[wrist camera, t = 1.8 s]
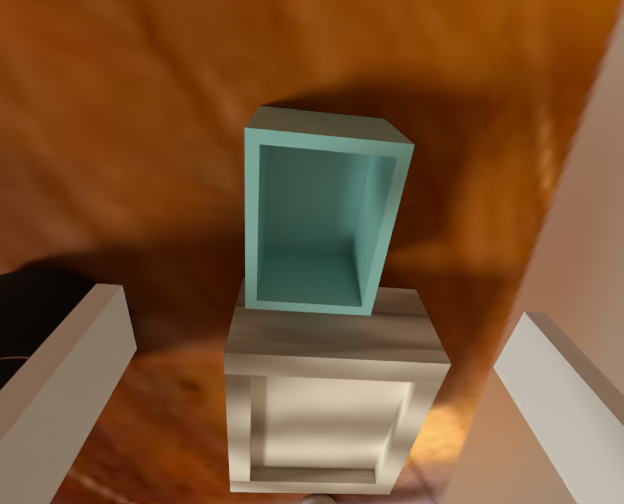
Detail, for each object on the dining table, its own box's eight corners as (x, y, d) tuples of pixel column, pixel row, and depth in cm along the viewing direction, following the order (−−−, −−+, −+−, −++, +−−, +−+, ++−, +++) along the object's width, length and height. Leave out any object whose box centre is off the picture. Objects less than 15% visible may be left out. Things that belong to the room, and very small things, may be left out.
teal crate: (260, 105, 18) (244, 127, 13) (383, 118, 19) (414, 144, 14) (257, 251, 23) (245, 308, 18) (355, 258, 24) (370, 315, 19)
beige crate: (242, 277, 24) (222, 352, 18) (416, 289, 25) (452, 363, 19) (242, 410, 33) (229, 492, 27) (374, 415, 34) (389, 494, 28)
